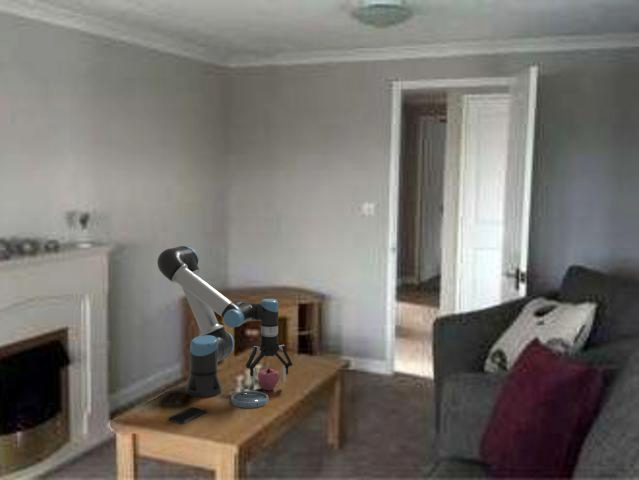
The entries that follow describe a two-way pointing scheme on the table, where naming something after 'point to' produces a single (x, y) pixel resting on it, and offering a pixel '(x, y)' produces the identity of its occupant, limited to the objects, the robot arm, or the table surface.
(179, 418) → the phone
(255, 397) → the dish
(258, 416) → the table surface
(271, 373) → the apple
